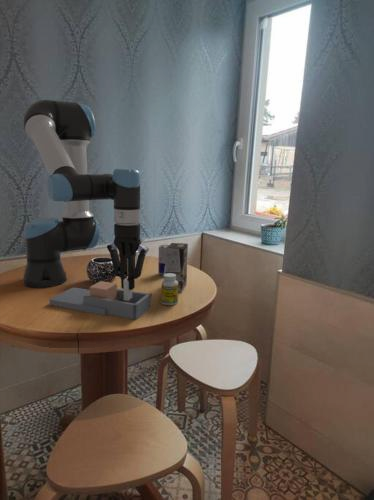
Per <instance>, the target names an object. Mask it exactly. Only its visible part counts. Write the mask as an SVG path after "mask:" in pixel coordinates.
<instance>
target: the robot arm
mask: <svg viewBox="0 0 374 500" xmlns="http://www.w3.org/2000/svg"><path fill="white" fill-rule="evenodd" d="M22 124H23V129H24V131H25V134H26V135H27V137H28V138H30V139H31V140H32V141H33V143H34V144H35V147H36V148H37V151H38V153H39V155H40V157H41V159H42V162H43V164H44V166H45V169H46V170H47V172H48V174H49V176H48V177H47V180H46V181H47V182H46V187H47V188H46V190H47V192H48V197H49V198H50V199H51V200H52V201H54V202H63V203H64V202H65V212H64V213H63V214H62V215H61V218H62V219H61V221H60V220H59V219H58V218H56V217H44V218H38V219H35V220H30V221H29V222H27V223H26V224H25V225H24V237H23V238H24V242H25V253H26V266H25V270H24V274H23V277H22V279H23V282H22V283H23V285H24V284H25V285H24V286H26V287H30V288H50V287H55V286H58V285H61V284H64V283H65V282H67V279H68V278H67V272H66V270H65V269H64V266H63V264H62V261H61V253H66V252H73V251H81V250H82V251H86V250H88V249H93V248H95V247H96V246H97V245H98V244H99V241H100V237H101V227H100V223H99V221H98V220H97V219H96V218H94V217H95V215H94V214H93V213H92V212H91V211H90V201H104V200H105V201H106V200H108V201H109V200H110V201H111V200H113V222H114V223H115V224H113V229H114V231H113V232H114V233H113V234H114V239H113V242H111V243H110V244H107V245H106V248H107V250H108V252H109V255H110V258H111V263H112V267H113V272H114V275H115V277H119V278H120V284H121V285H120V286H121V287H120V289H123V290H124V300H126V301H129V300H130V299H131V298H132V291H134V289H135V286H136V285H135V284H136V283H135V280H137V279H138V278H140V277H141V275H142V271H143V266H144V261H145V259H146V258H145V257H146V255H147V254H148V252H149V248H148V247H145V245H144V246H142V245H141V241H140V239H141V224H140V222H141V176H140V171H139V170H138V169H135V168H134V169H131V168H115V169H113V173H103V174H89V173H88V158H87V157H88V155H87V146H88V145H90V143H91V139H92V138H94V136H95V134H96V120H95V116H94V113H93V111H92V109H91V108H90V107H89V106H88V105H86V104H82V103H77V102H69V101H59V100H52V99H40V100H37V101H35V102H33V103H32V104H30V105H29V106H28V107H27V108H26V110H25V112H24V115H23V118H22ZM138 249H139V252H138V254H137V263H136V251H137V250H138ZM135 266H136V267H135Z"/></svg>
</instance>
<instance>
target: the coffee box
mask: <svg viewBox="0 0 374 500" xmlns="http://www.w3.org/2000/svg"><path fill="white" fill-rule="evenodd" d="M168 245H169V246H168V247H166V273H173V274H176V281H177V282H178V293H183V291H184V290H185V288H186V286H187V282H188V249H189V248H188V247H189V244H188V243H185V242H181V243H180V242H177V243H176V242H171V243H170V244H168Z"/></svg>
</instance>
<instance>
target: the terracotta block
mask: <svg viewBox="0 0 374 500" xmlns="http://www.w3.org/2000/svg"><path fill="white" fill-rule="evenodd" d="M117 289H118V284H117V283H115V282H108V281H102V280H100V281H98V282H96V283H95V284H92V285H91V286H89V290H90V296H93V297H99V298H105V299H111V300H115V299H117Z"/></svg>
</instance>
